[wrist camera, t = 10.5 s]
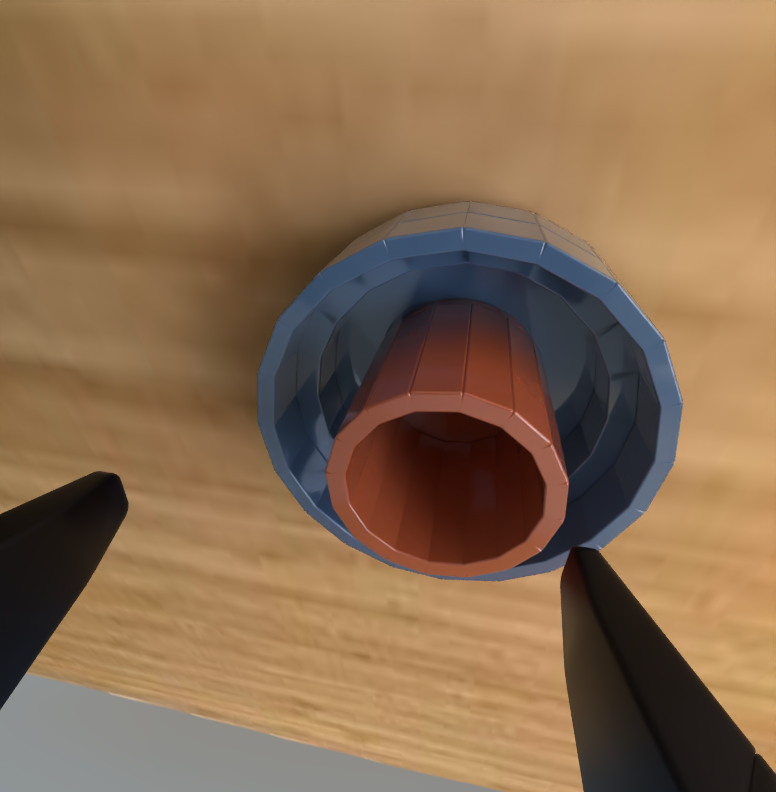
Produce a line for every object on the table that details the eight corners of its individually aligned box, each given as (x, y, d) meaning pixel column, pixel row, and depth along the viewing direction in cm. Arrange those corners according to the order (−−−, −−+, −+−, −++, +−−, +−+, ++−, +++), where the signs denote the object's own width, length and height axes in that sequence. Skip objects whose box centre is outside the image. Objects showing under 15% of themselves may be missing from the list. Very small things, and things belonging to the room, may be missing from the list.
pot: (419, 461, 21) (392, 592, 16) (347, 338, 19) (282, 438, 13) (566, 416, 19) (600, 553, 13) (505, 268, 17) (513, 353, 11)
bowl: (393, 520, 24) (373, 604, 20) (247, 295, 20) (179, 345, 15) (673, 448, 19) (723, 540, 15) (570, 121, 15) (602, 123, 10)
